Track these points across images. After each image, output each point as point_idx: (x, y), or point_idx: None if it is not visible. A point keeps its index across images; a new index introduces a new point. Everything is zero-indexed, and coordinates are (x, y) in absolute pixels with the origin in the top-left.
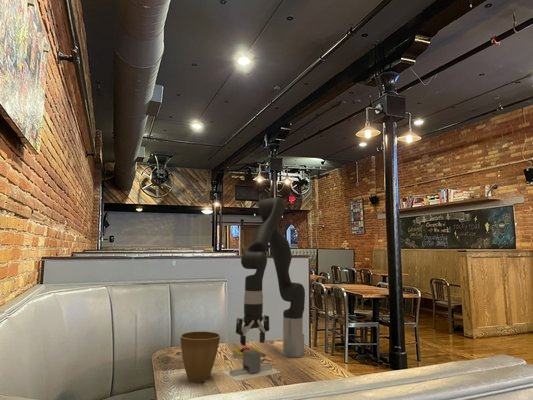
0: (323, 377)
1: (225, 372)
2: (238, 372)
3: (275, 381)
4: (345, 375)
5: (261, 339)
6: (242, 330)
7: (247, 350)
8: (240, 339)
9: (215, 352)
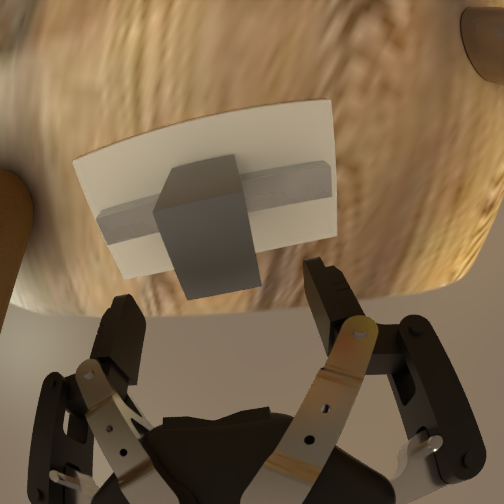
0: (417, 281)
1: (87, 176)
2: (135, 235)
3: (275, 283)
4: (458, 278)
5: (311, 299)
6: (96, 403)
7: (186, 217)
8: (97, 337)
9: (5, 314)
